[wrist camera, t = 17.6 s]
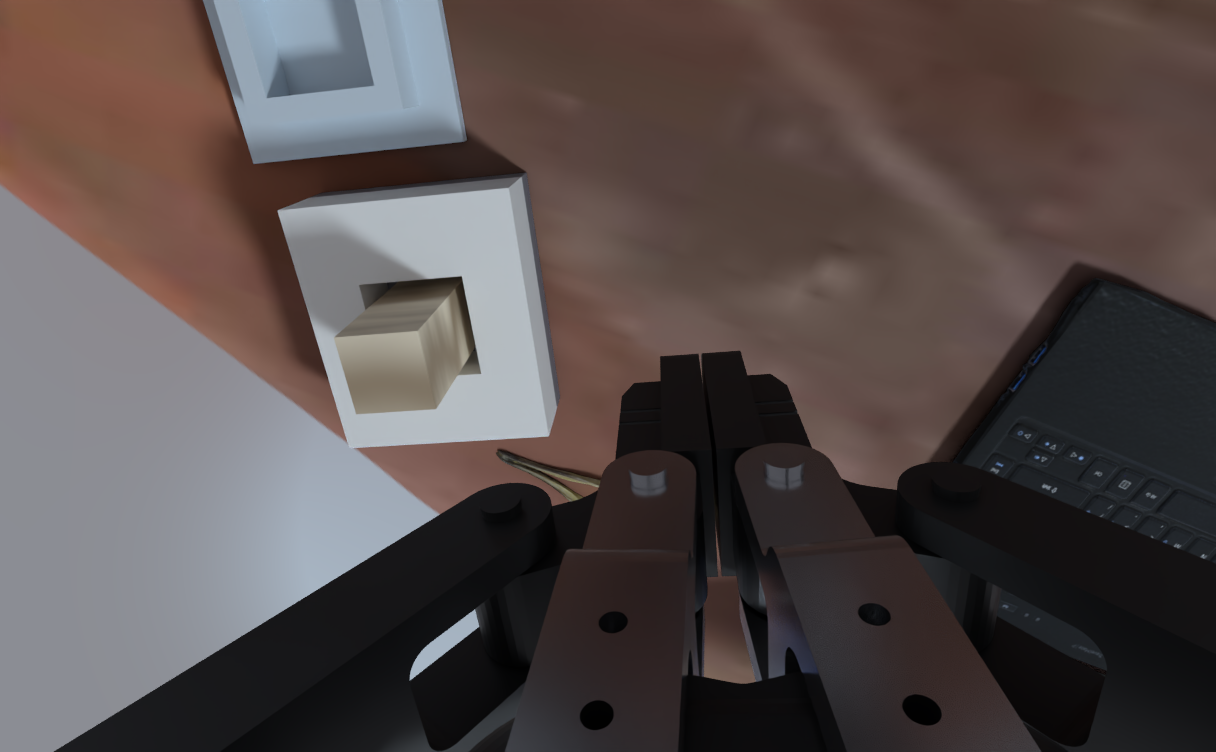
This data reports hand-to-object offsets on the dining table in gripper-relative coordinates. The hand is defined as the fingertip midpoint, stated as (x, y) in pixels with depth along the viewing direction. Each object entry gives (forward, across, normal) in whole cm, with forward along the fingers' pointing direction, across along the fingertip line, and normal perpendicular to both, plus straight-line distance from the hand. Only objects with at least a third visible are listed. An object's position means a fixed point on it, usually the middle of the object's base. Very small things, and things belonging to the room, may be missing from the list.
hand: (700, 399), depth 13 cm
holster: (+27, +17, -9) cm, 33 cm away
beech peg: (+26, +14, +6) cm, 30 cm away
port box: (+27, +14, +6) cm, 31 cm away
